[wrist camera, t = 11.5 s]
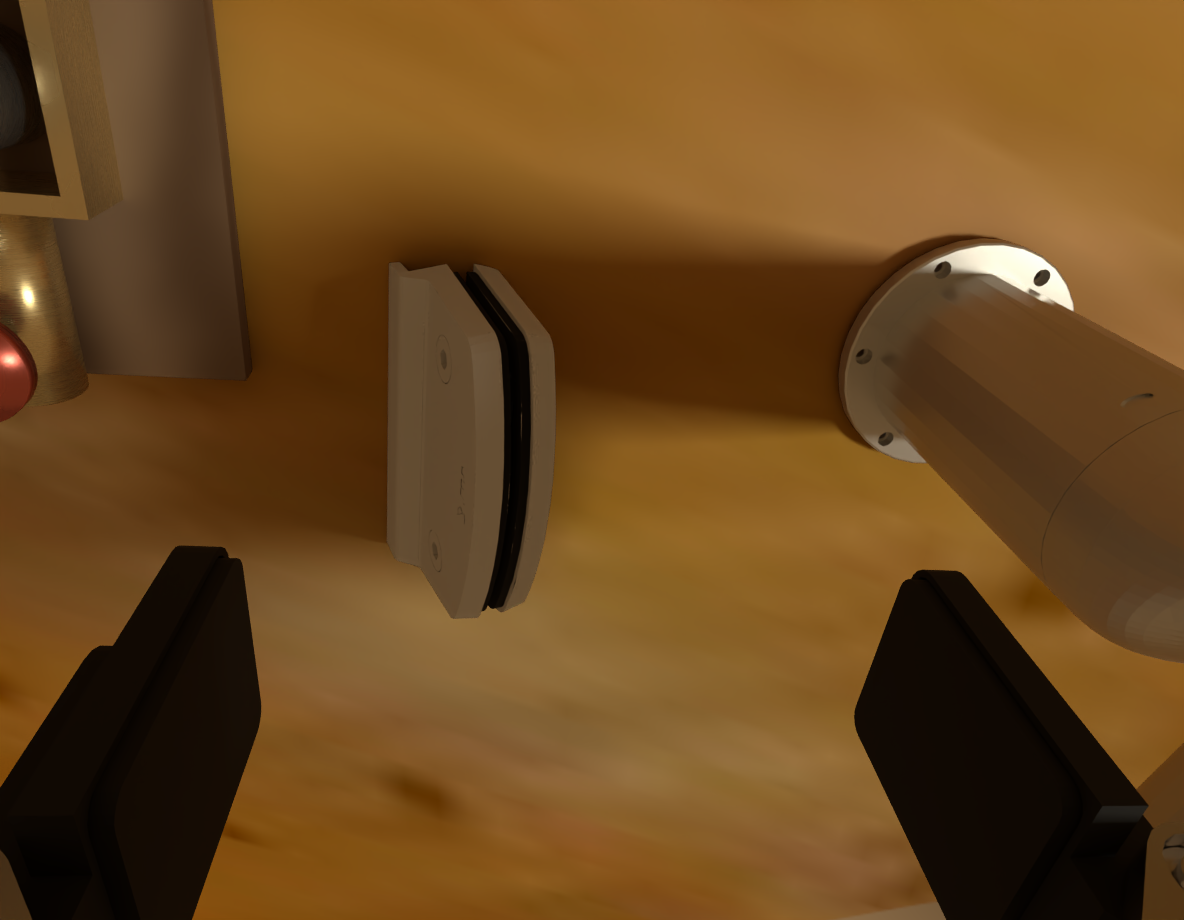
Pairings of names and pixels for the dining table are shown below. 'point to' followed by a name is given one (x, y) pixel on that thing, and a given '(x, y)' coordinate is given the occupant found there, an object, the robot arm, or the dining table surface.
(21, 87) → the beige cylindrical canister
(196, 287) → the base board
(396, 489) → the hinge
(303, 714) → the dining table surface
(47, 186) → the square socket board
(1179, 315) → the dining table surface
